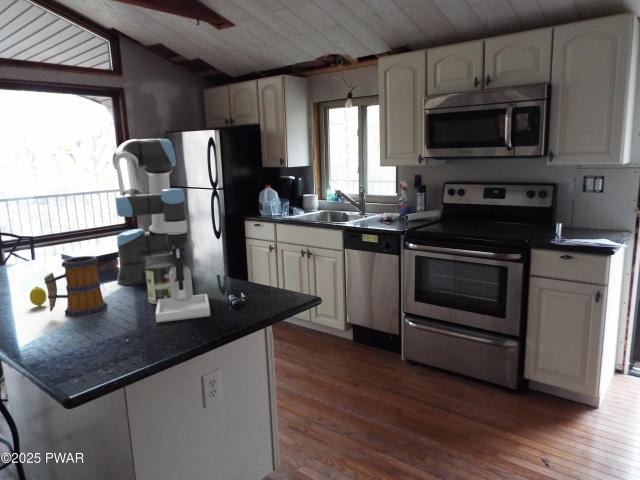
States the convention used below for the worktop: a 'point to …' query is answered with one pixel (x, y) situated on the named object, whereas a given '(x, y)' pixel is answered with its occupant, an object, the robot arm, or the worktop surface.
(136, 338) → the worktop surface
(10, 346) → the worktop surface
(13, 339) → the worktop surface
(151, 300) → the coffee can
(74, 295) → the mug
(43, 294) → the lemon
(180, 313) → the tray
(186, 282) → the can
